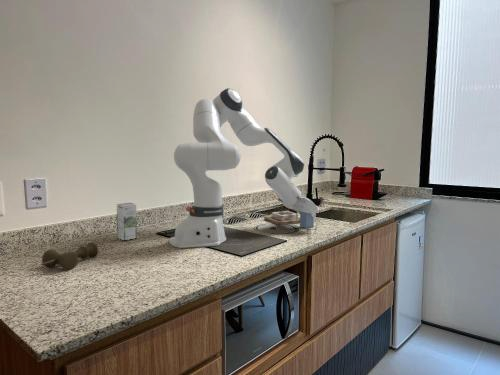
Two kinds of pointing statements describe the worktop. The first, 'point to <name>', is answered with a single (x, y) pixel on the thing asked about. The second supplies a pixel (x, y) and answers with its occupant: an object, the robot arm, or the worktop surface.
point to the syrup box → (126, 221)
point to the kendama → (68, 256)
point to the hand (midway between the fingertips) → (307, 215)
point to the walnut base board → (283, 218)
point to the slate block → (306, 220)
